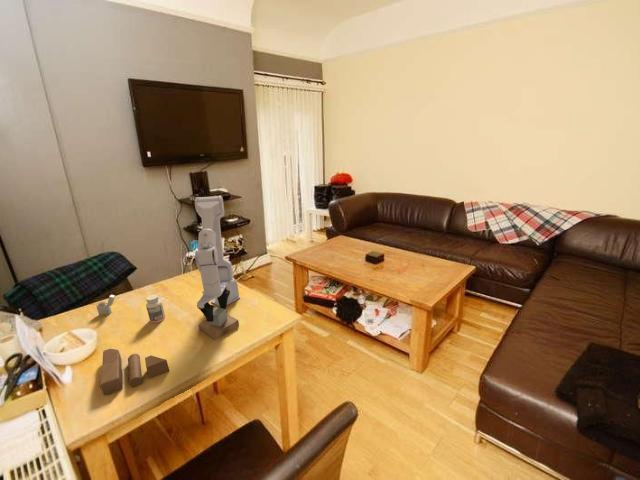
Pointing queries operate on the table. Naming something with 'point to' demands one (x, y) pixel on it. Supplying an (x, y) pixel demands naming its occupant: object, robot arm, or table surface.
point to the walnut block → (216, 330)
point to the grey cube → (219, 317)
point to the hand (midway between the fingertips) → (217, 315)
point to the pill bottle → (155, 309)
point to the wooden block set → (113, 370)
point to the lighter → (105, 306)
